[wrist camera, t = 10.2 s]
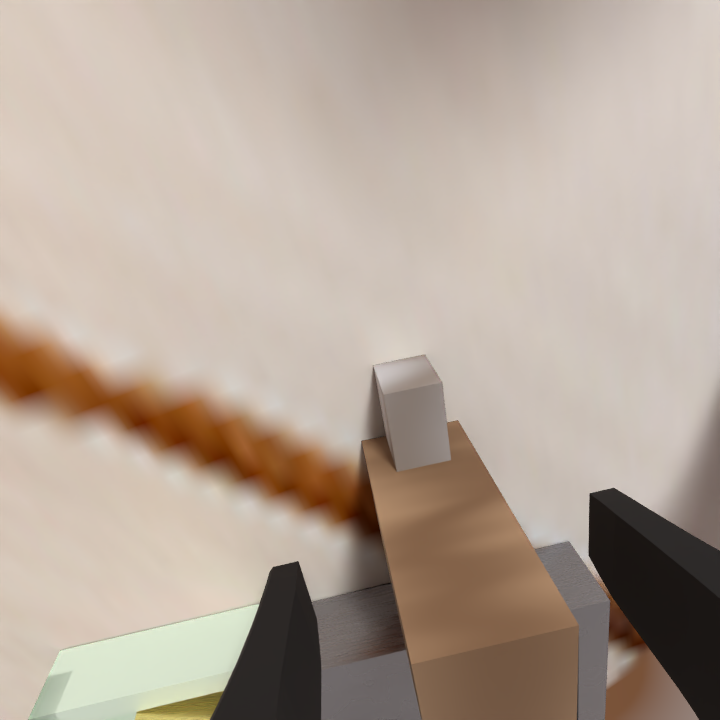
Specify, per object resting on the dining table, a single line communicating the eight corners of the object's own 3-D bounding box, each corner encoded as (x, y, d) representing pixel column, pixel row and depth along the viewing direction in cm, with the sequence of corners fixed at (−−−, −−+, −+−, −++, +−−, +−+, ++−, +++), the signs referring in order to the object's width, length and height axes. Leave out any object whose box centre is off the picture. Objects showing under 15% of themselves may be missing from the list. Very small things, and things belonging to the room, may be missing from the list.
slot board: (569, 541, 17) (610, 600, 15) (569, 721, 22) (601, 788, 20) (280, 609, 17) (277, 680, 15) (341, 778, 22) (347, 852, 19)
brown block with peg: (450, 349, 14) (581, 521, 8) (471, 550, 17) (575, 789, 11) (347, 370, 14) (391, 563, 7) (387, 569, 17) (442, 823, 11)
